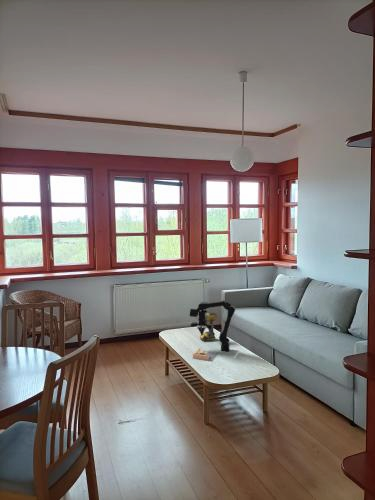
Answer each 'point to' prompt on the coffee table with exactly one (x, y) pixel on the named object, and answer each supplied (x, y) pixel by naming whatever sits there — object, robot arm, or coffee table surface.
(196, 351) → the t block
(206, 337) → the cordless drill
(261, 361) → the coffee table surface
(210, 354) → the slate mat
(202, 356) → the block
